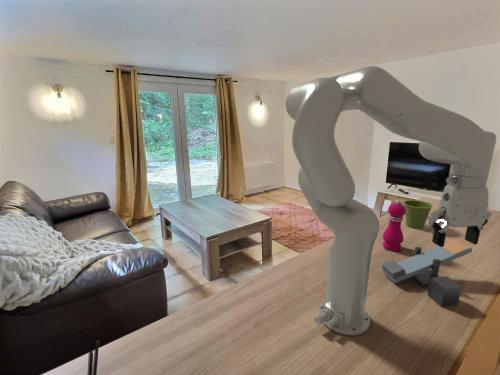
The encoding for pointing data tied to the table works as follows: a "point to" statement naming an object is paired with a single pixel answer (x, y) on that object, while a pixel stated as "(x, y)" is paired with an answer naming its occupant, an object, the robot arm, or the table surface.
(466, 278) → the table surface
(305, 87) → the robot arm
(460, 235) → the table surface
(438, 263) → the stand
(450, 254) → the beam
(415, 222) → the plant pot
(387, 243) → the pepper mill
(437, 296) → the iron block
